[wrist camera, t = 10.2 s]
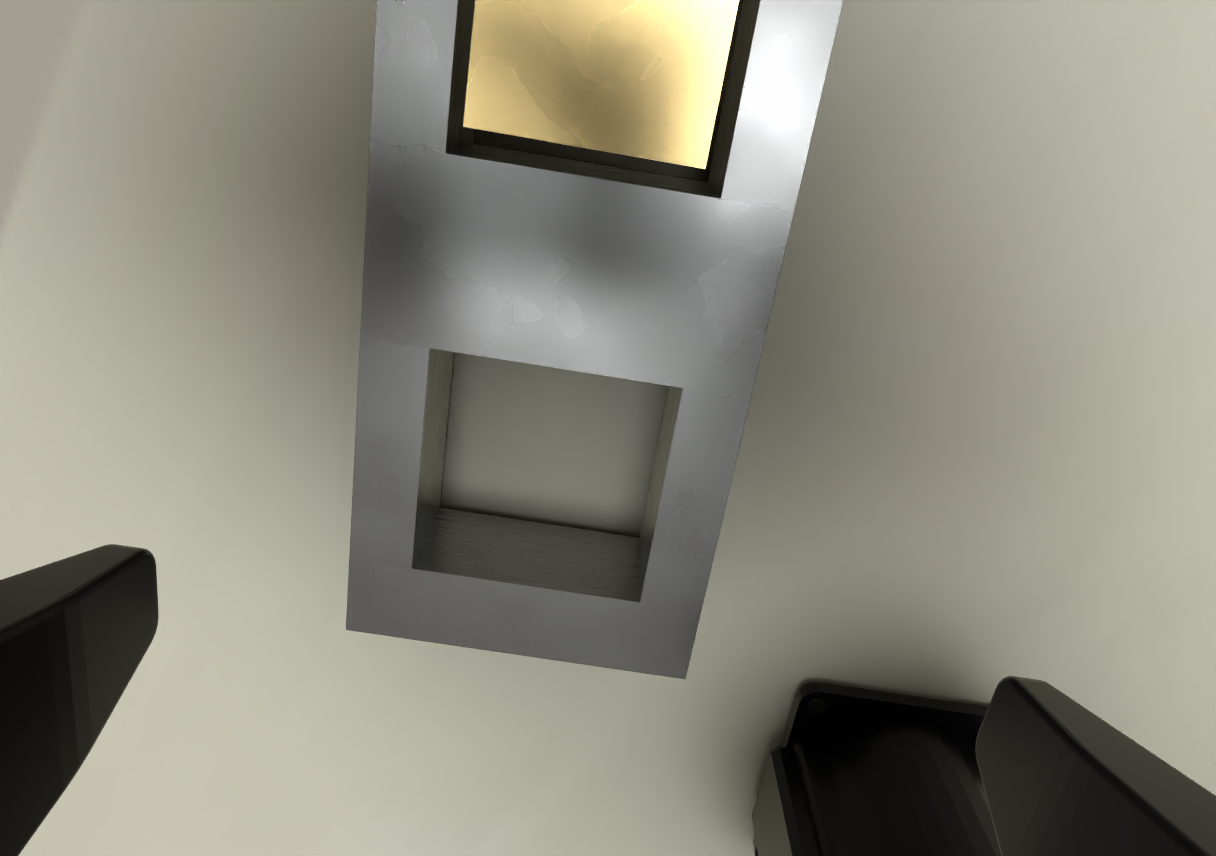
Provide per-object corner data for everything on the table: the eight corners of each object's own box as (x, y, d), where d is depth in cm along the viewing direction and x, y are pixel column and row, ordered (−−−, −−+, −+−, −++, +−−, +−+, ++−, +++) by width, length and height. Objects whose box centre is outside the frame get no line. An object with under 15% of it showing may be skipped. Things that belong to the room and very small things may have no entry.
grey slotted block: (853, -188, 16) (900, -246, 13) (678, 607, 23) (685, 679, 20) (435, -264, 16) (394, -338, 13) (381, 562, 23) (346, 629, 20)
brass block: (726, -58, 17) (761, -112, 12) (687, 149, 19) (705, 169, 14) (529, -94, 17) (490, -163, 12) (505, 116, 18) (463, 127, 14)
